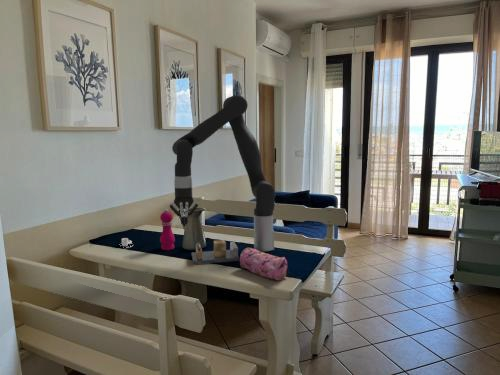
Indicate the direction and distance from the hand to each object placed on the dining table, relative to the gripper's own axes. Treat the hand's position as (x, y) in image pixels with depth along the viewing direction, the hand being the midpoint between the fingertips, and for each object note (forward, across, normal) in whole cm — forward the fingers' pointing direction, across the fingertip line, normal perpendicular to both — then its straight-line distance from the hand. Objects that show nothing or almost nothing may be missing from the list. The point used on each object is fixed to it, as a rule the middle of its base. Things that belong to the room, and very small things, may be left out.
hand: (184, 224), depth 163 cm
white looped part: (+17, -26, +30) cm, 43 cm away
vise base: (+16, +13, 0) cm, 21 cm away
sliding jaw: (+15, +6, 0) cm, 16 cm away
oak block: (+15, +16, 0) cm, 22 cm away
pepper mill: (+17, -8, +20) cm, 27 cm away
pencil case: (+17, +30, -22) cm, 41 cm away
